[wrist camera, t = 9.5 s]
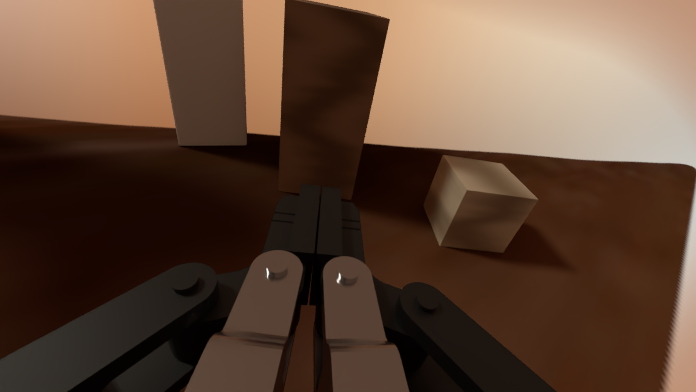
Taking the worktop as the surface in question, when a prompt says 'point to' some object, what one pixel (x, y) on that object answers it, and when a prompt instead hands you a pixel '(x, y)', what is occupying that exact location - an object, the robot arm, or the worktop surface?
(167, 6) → the milk
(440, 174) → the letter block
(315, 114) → the walnut panel
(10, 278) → the worktop surface
